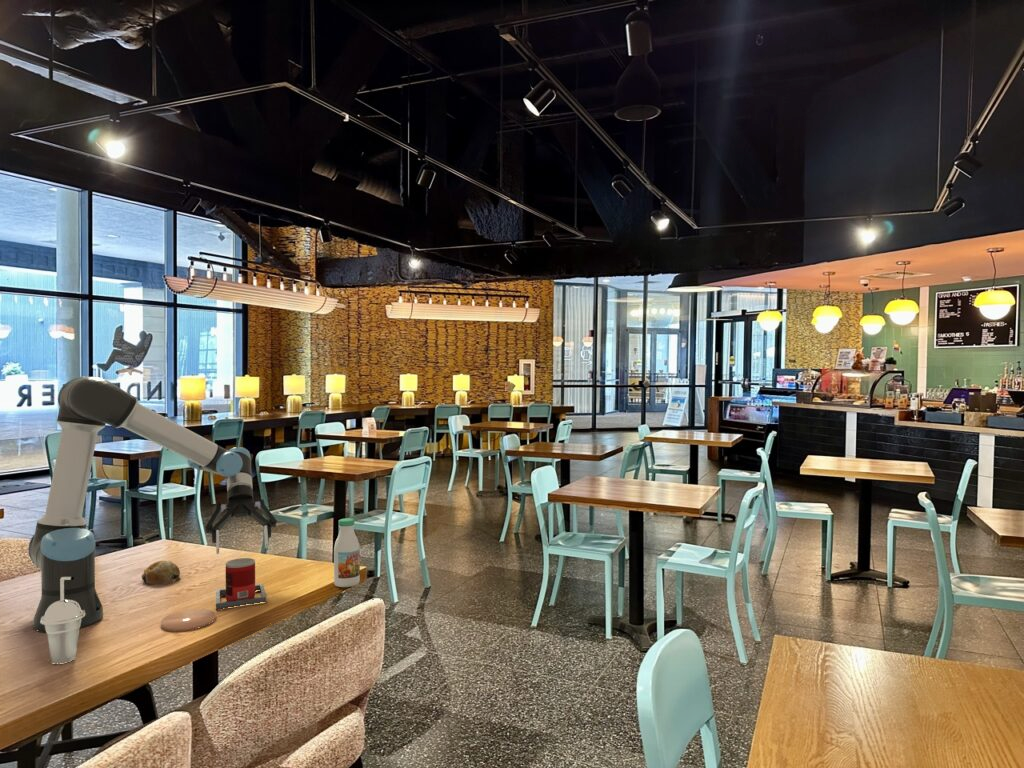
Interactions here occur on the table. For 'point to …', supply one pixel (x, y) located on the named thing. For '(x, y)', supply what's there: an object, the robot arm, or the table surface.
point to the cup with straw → (63, 626)
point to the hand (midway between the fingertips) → (242, 548)
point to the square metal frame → (242, 601)
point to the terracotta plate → (187, 620)
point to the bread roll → (161, 573)
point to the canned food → (240, 579)
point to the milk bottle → (346, 555)
